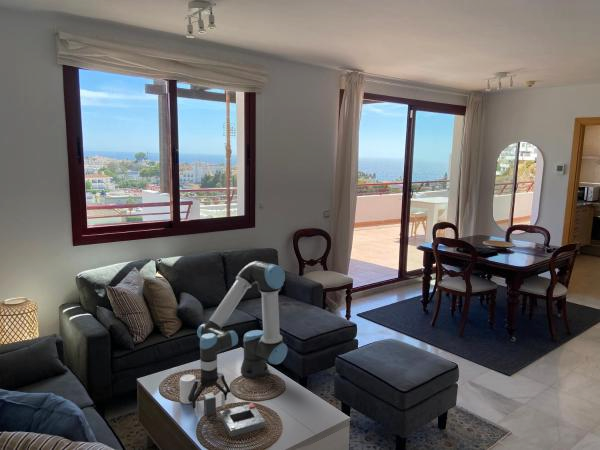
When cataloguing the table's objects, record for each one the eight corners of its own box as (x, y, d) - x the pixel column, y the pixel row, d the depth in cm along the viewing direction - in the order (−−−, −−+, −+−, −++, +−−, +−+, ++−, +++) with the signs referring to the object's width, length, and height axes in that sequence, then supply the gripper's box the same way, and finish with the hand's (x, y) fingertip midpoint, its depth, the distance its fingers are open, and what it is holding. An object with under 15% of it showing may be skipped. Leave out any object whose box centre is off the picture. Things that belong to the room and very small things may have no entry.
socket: (252, 408, 213) (252, 401, 212) (265, 427, 198) (265, 419, 198) (219, 417, 205) (219, 410, 205) (230, 437, 191) (230, 429, 191)
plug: (213, 408, 212) (213, 392, 211) (216, 413, 208) (215, 397, 207) (204, 411, 210) (203, 394, 209) (206, 416, 206) (206, 399, 205)
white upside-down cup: (192, 405, 215) (191, 382, 213) (177, 403, 216) (176, 380, 214) (199, 396, 222) (199, 374, 221) (184, 395, 224) (183, 372, 222)
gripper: (231, 358, 215) (232, 400, 218) (180, 369, 204) (181, 412, 207) (236, 365, 208) (237, 407, 211) (184, 376, 197) (185, 421, 200)
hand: (209, 410), depth 209 cm, fingers open, 12 cm apart
